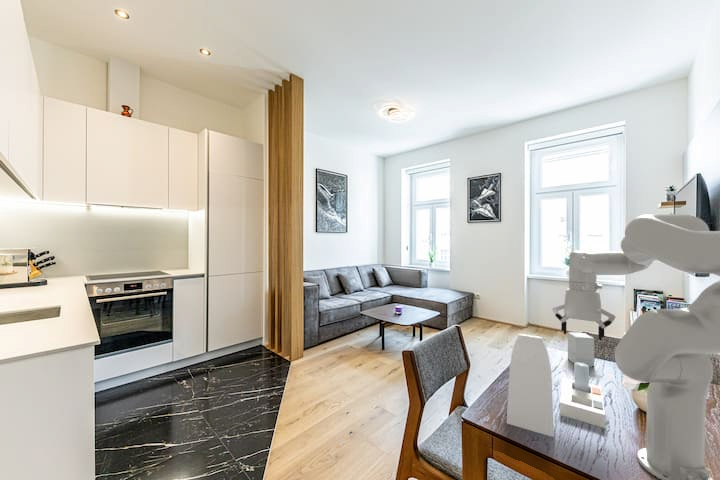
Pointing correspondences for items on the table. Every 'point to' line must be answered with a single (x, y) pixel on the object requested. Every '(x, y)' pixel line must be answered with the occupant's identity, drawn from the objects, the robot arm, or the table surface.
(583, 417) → the socket block
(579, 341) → the supplement box
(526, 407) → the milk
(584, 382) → the plug
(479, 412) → the table surface
